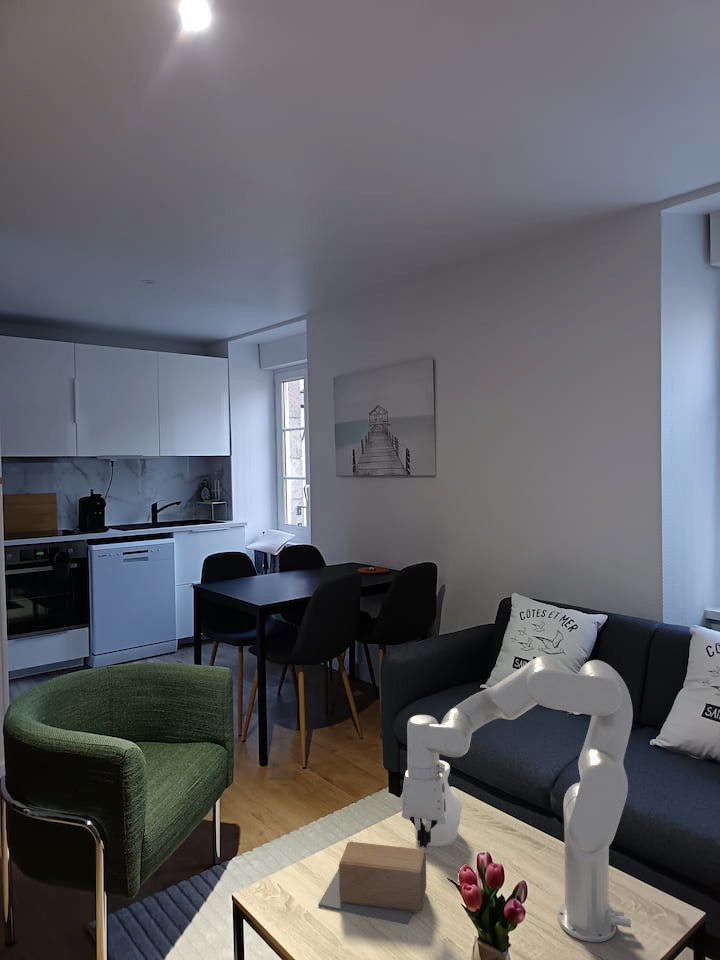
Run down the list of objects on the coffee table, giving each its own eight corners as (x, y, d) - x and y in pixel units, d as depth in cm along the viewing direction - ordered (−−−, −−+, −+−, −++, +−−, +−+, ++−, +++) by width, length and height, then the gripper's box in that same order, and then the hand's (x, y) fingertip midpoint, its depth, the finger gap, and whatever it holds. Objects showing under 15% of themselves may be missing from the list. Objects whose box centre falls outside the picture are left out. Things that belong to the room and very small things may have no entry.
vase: (402, 827, 195) (401, 759, 194) (446, 817, 200) (445, 750, 199) (425, 854, 182) (424, 781, 181) (471, 842, 187) (470, 771, 186)
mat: (424, 877, 172) (424, 875, 171) (408, 924, 154) (407, 922, 154) (343, 862, 178) (343, 860, 178) (318, 906, 161) (318, 904, 161)
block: (421, 872, 156) (337, 862, 161) (421, 914, 157) (338, 903, 161) (426, 847, 166) (347, 839, 170) (426, 887, 167) (348, 878, 171)
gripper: (457, 766, 162) (457, 840, 163) (397, 758, 167) (398, 831, 168) (451, 780, 155) (452, 858, 156) (389, 772, 160) (390, 847, 161)
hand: (424, 844), depth 162 cm, fingers closed
